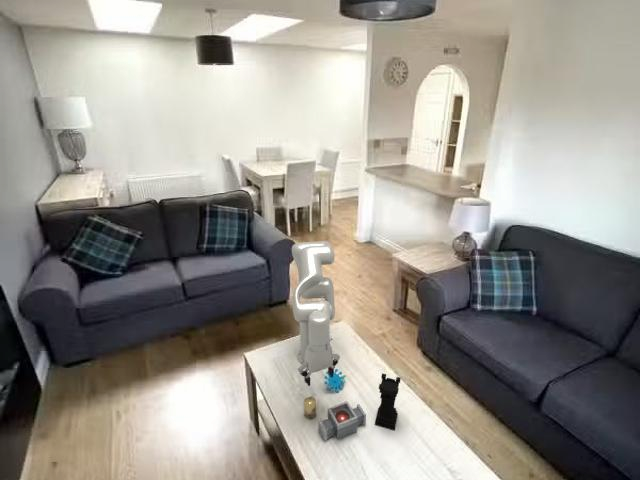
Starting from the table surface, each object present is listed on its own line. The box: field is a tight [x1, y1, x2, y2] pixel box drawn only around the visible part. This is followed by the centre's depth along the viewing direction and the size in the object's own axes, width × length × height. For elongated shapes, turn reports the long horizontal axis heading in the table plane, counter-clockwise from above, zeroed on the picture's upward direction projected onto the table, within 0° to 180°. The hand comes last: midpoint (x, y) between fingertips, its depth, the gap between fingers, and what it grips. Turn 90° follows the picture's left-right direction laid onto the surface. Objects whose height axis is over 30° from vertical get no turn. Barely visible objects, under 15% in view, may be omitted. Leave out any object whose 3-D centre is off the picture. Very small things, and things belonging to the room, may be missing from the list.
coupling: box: [303, 396, 317, 420], centre depth 146 cm, size 5×5×7 cm
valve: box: [317, 400, 367, 442], centre depth 140 cm, size 9×18×8 cm, turn 114°
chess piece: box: [374, 373, 401, 431], centre depth 141 cm, size 8×8×20 cm
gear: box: [323, 368, 347, 393], centre depth 161 cm, size 11×6×10 cm
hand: (319, 379), depth 138 cm, fingers open, 9 cm apart
